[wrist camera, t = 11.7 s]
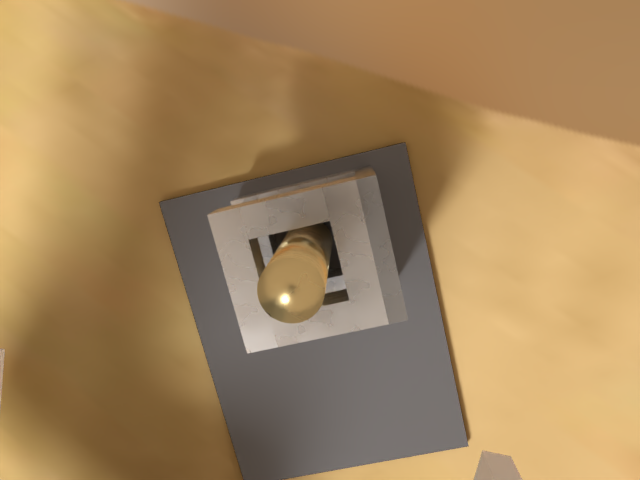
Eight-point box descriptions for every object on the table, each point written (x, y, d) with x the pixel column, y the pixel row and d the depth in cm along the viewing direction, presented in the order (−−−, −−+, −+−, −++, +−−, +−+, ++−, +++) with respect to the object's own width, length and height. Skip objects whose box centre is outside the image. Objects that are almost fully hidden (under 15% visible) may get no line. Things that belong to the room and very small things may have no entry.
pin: (292, 267, 40) (266, 329, 27) (281, 224, 39) (249, 266, 26) (337, 258, 39) (332, 315, 27) (326, 213, 39) (315, 251, 26)
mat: (246, 482, 44) (245, 486, 44) (161, 201, 40) (159, 202, 39) (467, 442, 42) (468, 446, 42) (404, 142, 38) (405, 142, 37)
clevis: (268, 308, 41) (247, 353, 32) (237, 196, 39) (207, 214, 31) (396, 280, 39) (408, 320, 31) (370, 165, 38) (376, 174, 29)
